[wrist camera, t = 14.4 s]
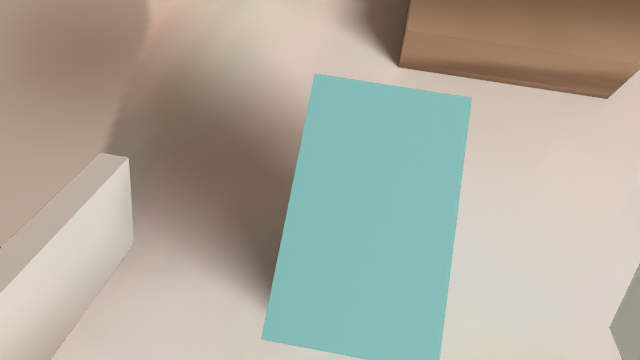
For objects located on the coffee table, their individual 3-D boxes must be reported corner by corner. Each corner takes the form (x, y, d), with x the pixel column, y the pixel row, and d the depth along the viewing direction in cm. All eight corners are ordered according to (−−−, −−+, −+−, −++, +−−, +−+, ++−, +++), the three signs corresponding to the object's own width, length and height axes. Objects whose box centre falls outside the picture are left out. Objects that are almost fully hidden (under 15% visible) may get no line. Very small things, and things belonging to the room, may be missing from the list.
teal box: (376, 356, 25) (438, 372, 10) (307, 343, 25) (261, 339, 10) (393, 241, 26) (471, 98, 11) (327, 230, 27) (314, 73, 11)
